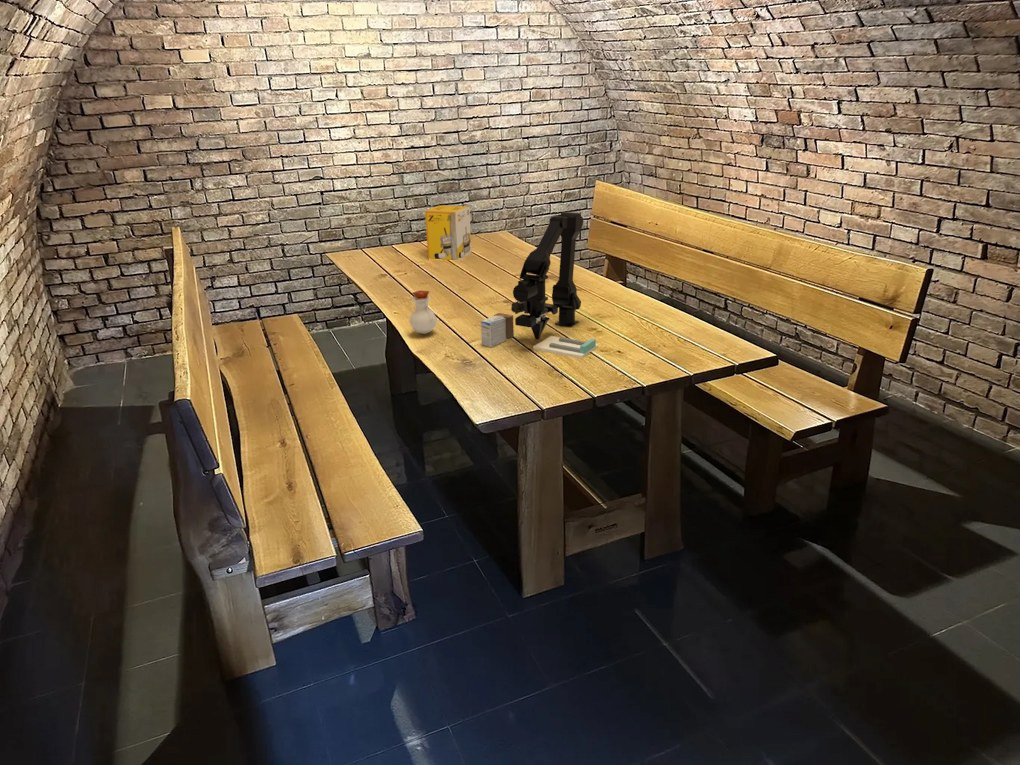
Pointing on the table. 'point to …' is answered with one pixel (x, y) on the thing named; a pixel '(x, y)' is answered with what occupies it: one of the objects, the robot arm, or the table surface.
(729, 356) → the table surface
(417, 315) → the potion bottle
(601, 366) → the table surface
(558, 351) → the rail board
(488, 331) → the medicine box
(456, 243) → the packaging box
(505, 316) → the panel
